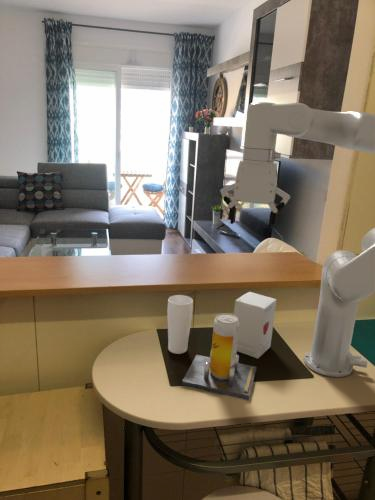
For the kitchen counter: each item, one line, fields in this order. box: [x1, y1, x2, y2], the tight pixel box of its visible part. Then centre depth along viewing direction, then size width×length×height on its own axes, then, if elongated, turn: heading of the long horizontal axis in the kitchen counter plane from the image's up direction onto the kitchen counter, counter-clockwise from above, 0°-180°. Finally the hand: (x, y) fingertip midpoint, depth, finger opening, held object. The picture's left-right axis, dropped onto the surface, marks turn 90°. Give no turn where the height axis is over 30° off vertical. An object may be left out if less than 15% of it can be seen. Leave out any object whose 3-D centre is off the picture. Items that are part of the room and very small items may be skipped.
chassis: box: [181, 350, 257, 401], centre depth 103 cm, size 16×13×5 cm
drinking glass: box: [166, 294, 194, 355], centre depth 114 cm, size 7×7×15 cm
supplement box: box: [233, 291, 277, 360], centre depth 117 cm, size 9×9×15 cm
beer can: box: [210, 312, 239, 379], centre depth 102 cm, size 6×6×15 cm
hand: (251, 225), depth 106 cm, fingers open, 9 cm apart
